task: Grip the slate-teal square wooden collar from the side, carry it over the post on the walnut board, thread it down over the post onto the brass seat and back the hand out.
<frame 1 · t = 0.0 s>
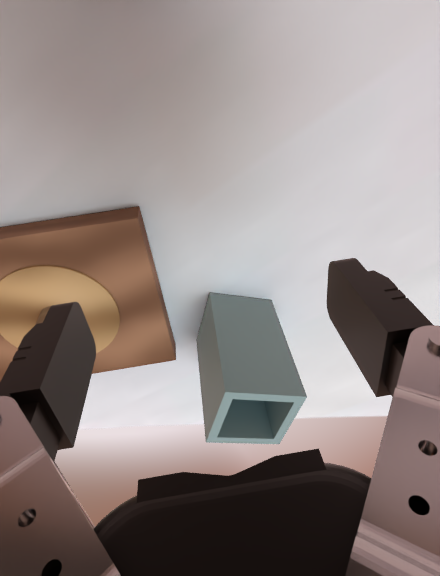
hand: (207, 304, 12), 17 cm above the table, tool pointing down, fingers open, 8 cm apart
collar: (232, 320, 36), on the table
peg board: (62, 300, 32), on the table
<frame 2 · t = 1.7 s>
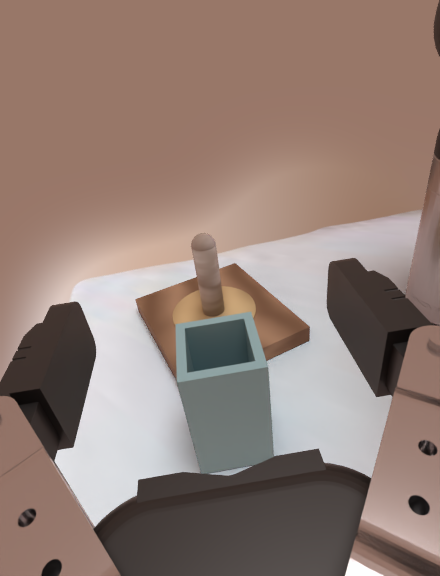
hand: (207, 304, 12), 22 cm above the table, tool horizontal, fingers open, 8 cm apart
collar: (232, 435, 32), on the table
peg board: (216, 324, 45), on the table
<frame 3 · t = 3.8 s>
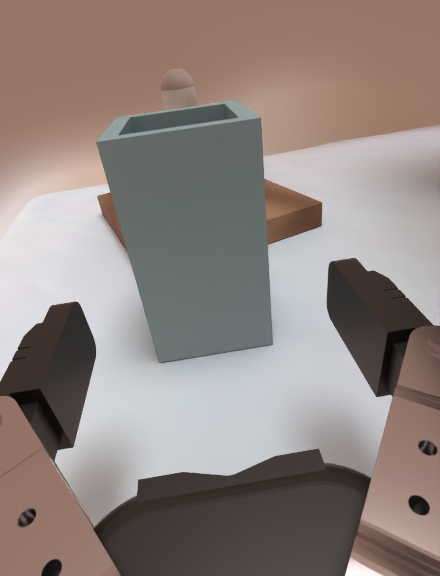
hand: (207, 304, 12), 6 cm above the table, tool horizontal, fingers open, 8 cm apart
collar: (211, 318, 22), on the table
peg board: (198, 219, 35), on the table
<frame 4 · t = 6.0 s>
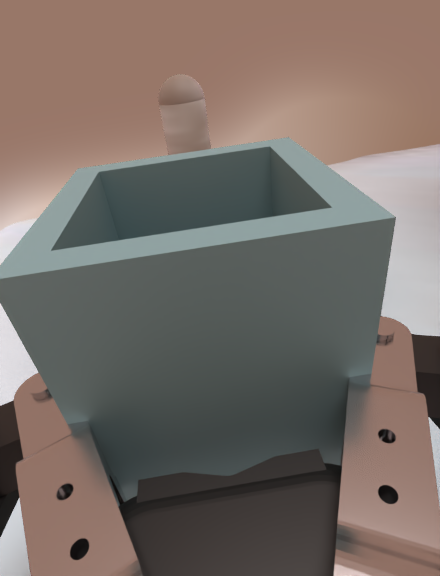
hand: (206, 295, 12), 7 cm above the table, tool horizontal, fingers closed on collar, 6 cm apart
collar: (235, 471, 14), on the table, touching gripper
peg board: (208, 267, 27), on the table
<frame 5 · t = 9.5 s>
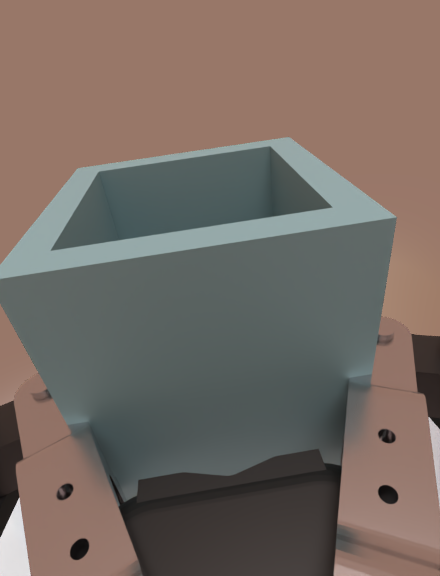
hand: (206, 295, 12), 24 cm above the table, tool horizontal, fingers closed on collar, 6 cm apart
collar: (235, 471, 14), point 17 cm above the table, touching gripper
when the fingers open (10 cm above the table, at t = 13.3 s): collar drops 1 cm, resting on peg board.
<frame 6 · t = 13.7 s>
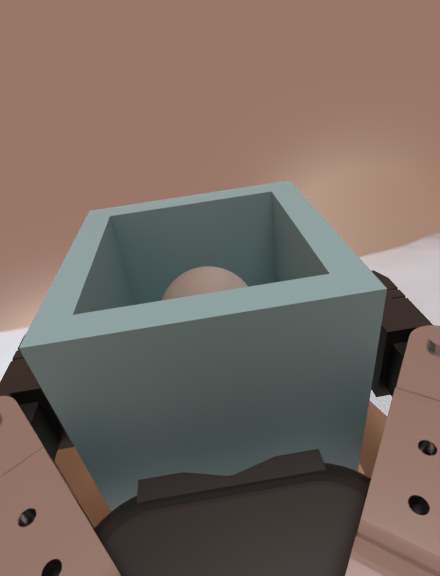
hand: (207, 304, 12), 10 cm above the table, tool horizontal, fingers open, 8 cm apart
collar: (238, 490, 14), point 2 cm above the table, touching peg board
peg board: (242, 516, 16), on the table
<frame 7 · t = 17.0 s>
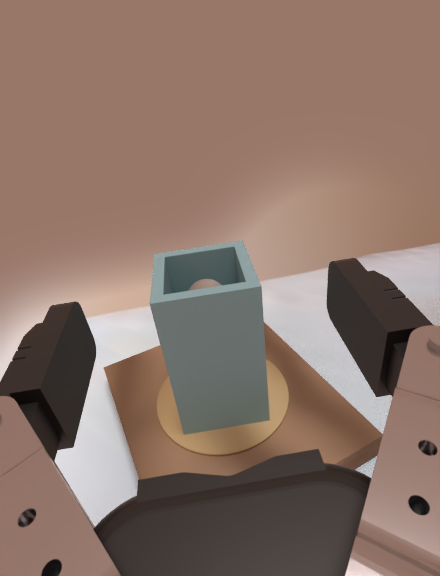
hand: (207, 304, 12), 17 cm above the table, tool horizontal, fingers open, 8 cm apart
collar: (222, 394, 28), point 2 cm above the table, touching peg board
peg board: (225, 413, 29), on the table
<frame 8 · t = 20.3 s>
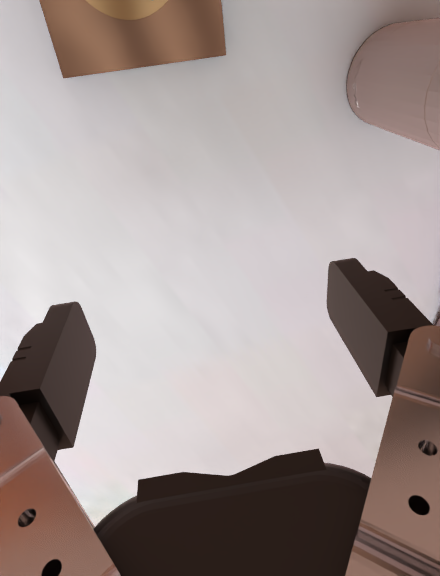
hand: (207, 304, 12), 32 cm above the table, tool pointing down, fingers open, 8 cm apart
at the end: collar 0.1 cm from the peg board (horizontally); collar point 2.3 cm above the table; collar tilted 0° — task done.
